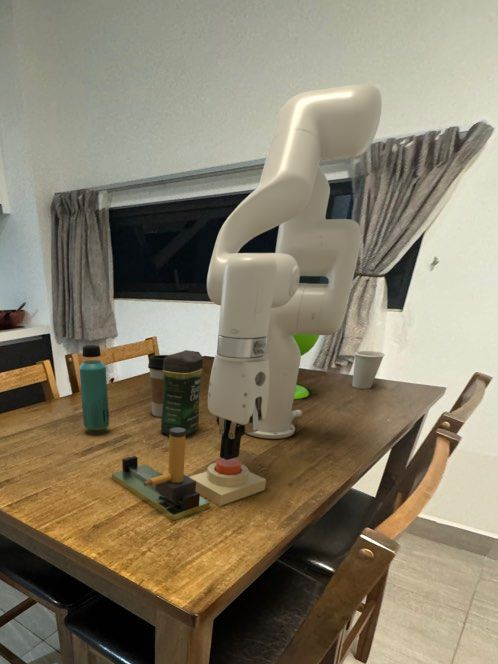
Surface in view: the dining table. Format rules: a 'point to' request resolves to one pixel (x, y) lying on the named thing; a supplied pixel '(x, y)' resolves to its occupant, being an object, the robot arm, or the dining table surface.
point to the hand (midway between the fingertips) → (229, 456)
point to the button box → (227, 485)
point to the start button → (228, 466)
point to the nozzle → (174, 470)
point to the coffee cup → (157, 383)
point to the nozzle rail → (135, 480)
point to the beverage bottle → (94, 390)
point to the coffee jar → (181, 391)
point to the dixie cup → (366, 368)
